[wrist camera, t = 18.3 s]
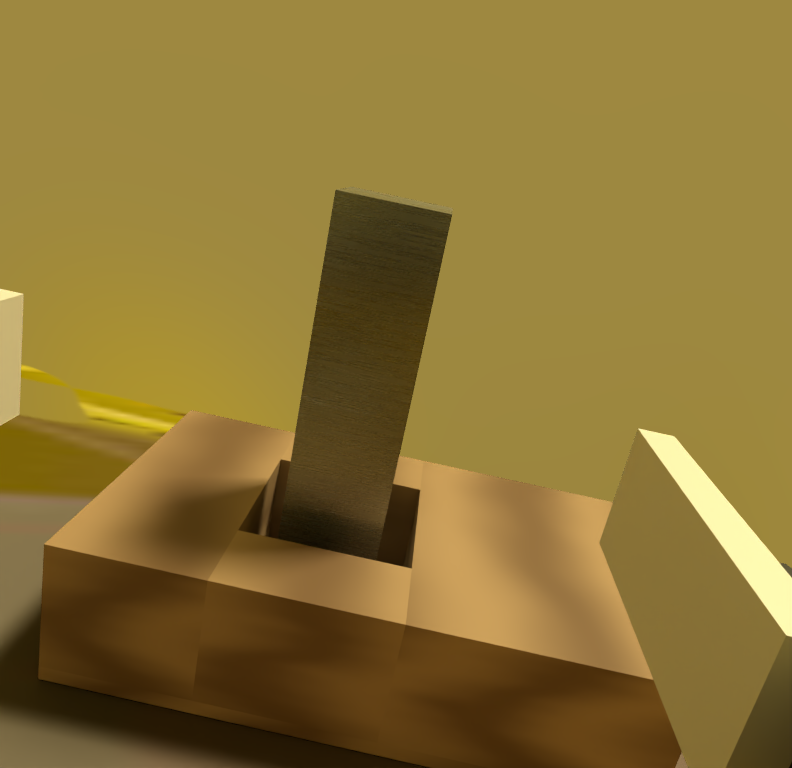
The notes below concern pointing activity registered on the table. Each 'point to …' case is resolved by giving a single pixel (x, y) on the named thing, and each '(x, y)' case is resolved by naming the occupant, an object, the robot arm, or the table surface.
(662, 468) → the robot arm
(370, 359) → the square bit
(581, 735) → the holder block
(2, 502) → the table surface
